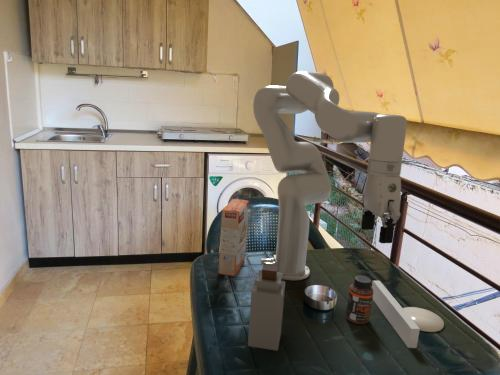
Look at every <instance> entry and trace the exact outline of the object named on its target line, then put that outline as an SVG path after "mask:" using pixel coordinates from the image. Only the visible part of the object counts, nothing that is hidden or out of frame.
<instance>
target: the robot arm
mask: <svg viewBox="0 0 500 375" xmlns="http://www.w3.org/2000/svg"><path fill="white" fill-rule="evenodd" d="M334 86H335V85H334V82H333V79H331V77H330V76H329V75H327V74H325V73H323V72H315V71H305V70H304V71H303V70H300V71H295V72H294V73H292V74H290V76H289V77H288V78H287V79H286V82H285V85H267V86H263V87H260V88H259V89H258V90H257V92H256V93H255V95H254V98H253V104H252V106H253V107H252V108H253V115H254V118H255V121H256V123H257V125H258V127H259V129H260V131H261V134H263V137H264V140H265V144H266V146H267V147H266V148H267V149H268V152H269V156H270V159H271V161H272V164H273V167H274V168H275V170H276V171H277V172H279V173H282V174H289V175H287V176H284V177H283V178H282V179H280V181H279V183H278V185H277V198H278V222H277V223H278V224H277V234H276V235H277V238H276V247H275V248H276V249H275V254H273V257H270V258H266V257H264V258H263V257H261V258H260V265H264V264H271V265H278V271H277V273H283V275H282V279H281V280H285V281H302V280H304V279H307V278H308V277H309V276H310V273H311V270H310V268H309V266H307V265H306V263H307V262H306V261H307V254H308V252H307V251H308V243H309V233H310V216H309V213H308V211H307V209H306V206H308V205H312V204H319V203H323V202H326V201H327V200H328V199H329V198H330V197H331V194H332V190H333V189H332V182H331V178H330V177H329V172H328V170H327V168H326V165H325V162H324V160H323V156H322V154H321V152H320V150H319V148H317V146H315V144H313V143H312V142H309V141H296V140H295V139H294V137H293V134H292V131H291V128H290V126H289V125H288V124H287V122H286V121H285V120H284V119H283V118H282V117H281V116H280V115H279V114H282V115H284V114H285V115H292V114H293V115H297V114H302V113H305V112H307V111H310V112H311V113H312V114H314V119H315V122H316V125H317V126H318V128H319V129H320V130H321V131H323V132H324V133H326V134H327V135H328V136H330V137H331V138H333V139H334V140H336V141H338V142H341V143H344V144H348V143H349V144H350V143H370V144H369V146H370V147H369V153H368V163H367V171H366V172H367V177H366V181H365V187H364V193H362V195H361V197H362V204H361V206H362V210H361V213H362V216H361V217H362V218H361V225H360V227H361V230H362V231H363V230H364V231H365V230H367V231H371V230H374V227H375V221H376V220H375V219H376V216H378V217H380V220H381V225H382V226H380V228H379V229H380V230H379V236H378V237H379V238H378V242H379V244H392V243H393V240H394V233H395V228H396V227H397V224H398V222H399V219H400V217H401V212H400V210H401V197H402V196H401V195H402V178H401V171H402V165H403V157H404V150H405V143H406V142H405V141H406V136H407V135H406V134H407V127H408V126H407V125H408V120H407V118H406V117H405V116H403V115H401V114H400V115H398V114H384V113H383V114H382V113H378V112H375V111H358V110H357V111H352V110H346V109H344V108H343V107H340V106H339V103H340V94H339V92H338V90H337V89H336V88H334ZM292 173H294V174H292ZM295 173H296V174H295ZM387 219H388V220H387Z"/></svg>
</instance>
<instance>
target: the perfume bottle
mask: <svg viewBox="0 0 500 375" xmlns="http://www.w3.org/2000/svg"><path fill="white" fill-rule="evenodd" d="M277 271H278V265H271V264H262V268H261V270H258V274H257V276H256V277H255V280H254V283H253V286H252V288H251V291H250V292H251V293H250V305H249V307H250V309H249V324H248V336H247V337H248V339H247V346H248V347H252V348H260V349H265V350H271V351H276V352H277V351H279V346H280V341H281V336H282V327H283V326H282V325H283V315H284V314H283V313H284V301H285V290H286V280H285V281H284V280H283V279H282V275H283V273H277Z"/></svg>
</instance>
